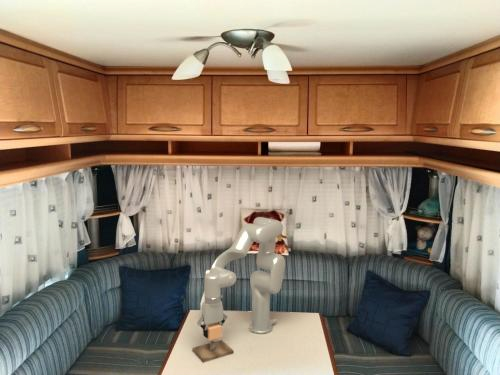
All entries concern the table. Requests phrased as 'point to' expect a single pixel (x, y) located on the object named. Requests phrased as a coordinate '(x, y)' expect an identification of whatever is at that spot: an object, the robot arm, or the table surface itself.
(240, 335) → the table surface
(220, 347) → the base plate
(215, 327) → the light orange cube
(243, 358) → the table surface
